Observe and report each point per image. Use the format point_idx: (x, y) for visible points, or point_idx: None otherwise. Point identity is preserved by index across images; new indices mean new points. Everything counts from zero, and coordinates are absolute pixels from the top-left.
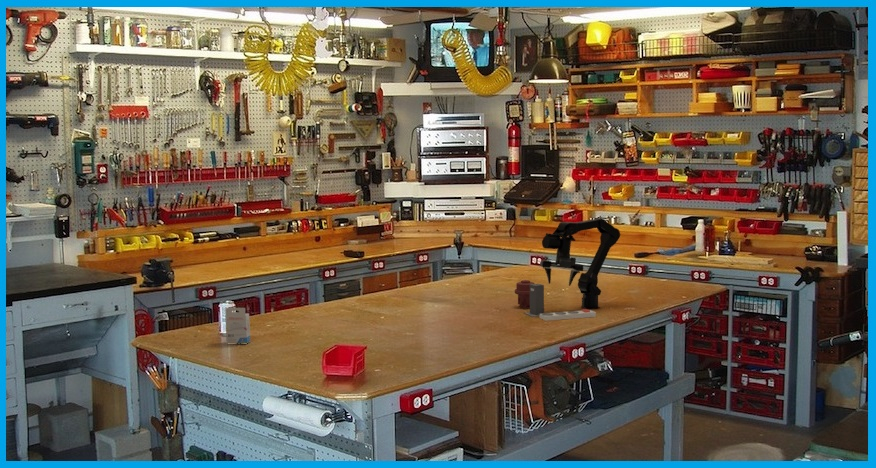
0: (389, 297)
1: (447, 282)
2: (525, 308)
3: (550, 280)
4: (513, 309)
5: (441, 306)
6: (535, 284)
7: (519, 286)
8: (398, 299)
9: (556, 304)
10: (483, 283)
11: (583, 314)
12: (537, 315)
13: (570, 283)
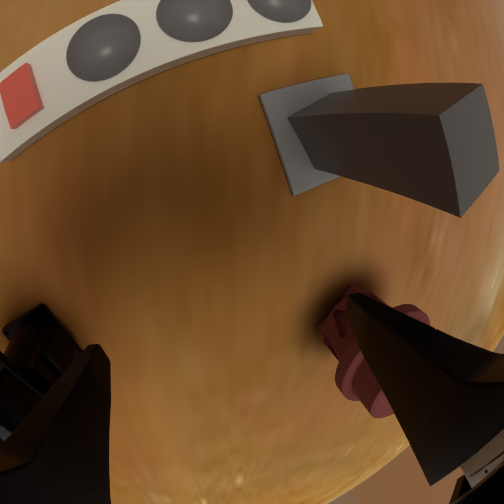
0: (497, 332)
1: (393, 455)
2: (350, 286)
3: (370, 312)
4: (392, 260)
5: (492, 275)
6: (480, 164)
7: None
8: (498, 322)
9: (209, 389)
10: (348, 476)
11: (46, 42)
12: (322, 80)
13: (81, 362)
